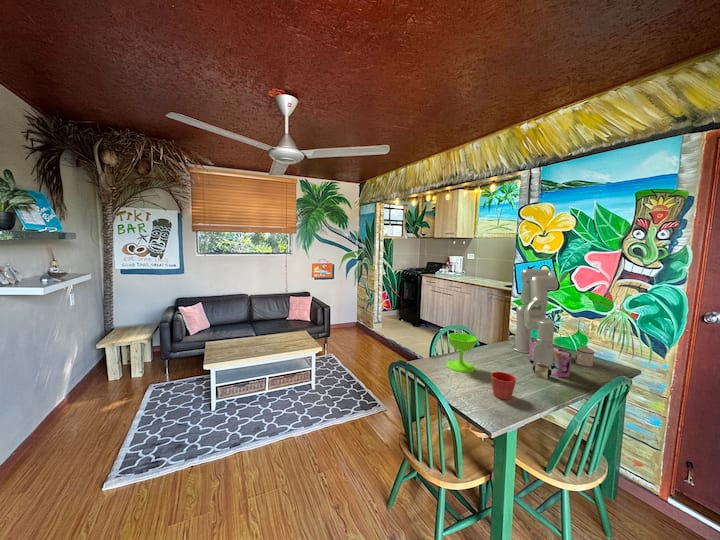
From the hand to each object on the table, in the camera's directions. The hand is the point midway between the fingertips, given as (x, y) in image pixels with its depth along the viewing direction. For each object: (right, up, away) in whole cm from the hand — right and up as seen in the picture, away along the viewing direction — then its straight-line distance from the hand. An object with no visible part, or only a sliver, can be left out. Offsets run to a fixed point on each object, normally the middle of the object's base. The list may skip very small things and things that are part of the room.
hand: (541, 373), depth 165 cm
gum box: (+10, -1, +10) cm, 15 cm away
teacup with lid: (+38, -1, +19) cm, 42 cm away
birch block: (0, -1, 0) cm, 1 cm away
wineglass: (-42, +1, +9) cm, 43 cm away
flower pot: (-34, -2, -24) cm, 41 cm away
